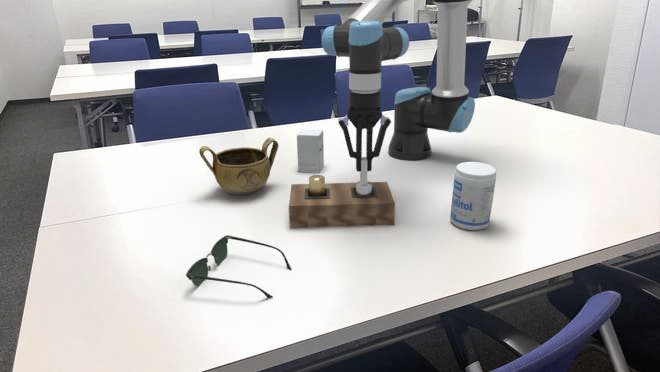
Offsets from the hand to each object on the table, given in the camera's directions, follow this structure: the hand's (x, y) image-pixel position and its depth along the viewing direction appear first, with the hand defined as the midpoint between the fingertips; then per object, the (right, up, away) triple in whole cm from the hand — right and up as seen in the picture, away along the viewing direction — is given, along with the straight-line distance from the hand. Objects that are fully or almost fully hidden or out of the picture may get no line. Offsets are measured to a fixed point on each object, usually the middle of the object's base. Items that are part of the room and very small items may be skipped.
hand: (363, 182), depth 121 cm
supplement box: (-15, +5, +36) cm, 39 cm away
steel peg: (0, -5, +2) cm, 6 cm away
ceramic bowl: (-34, -2, +19) cm, 40 cm away
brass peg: (-12, -4, +1) cm, 13 cm away
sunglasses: (-26, -20, -23) cm, 40 cm away
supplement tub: (+26, -10, -2) cm, 28 cm away
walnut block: (-6, -8, +3) cm, 11 cm away
